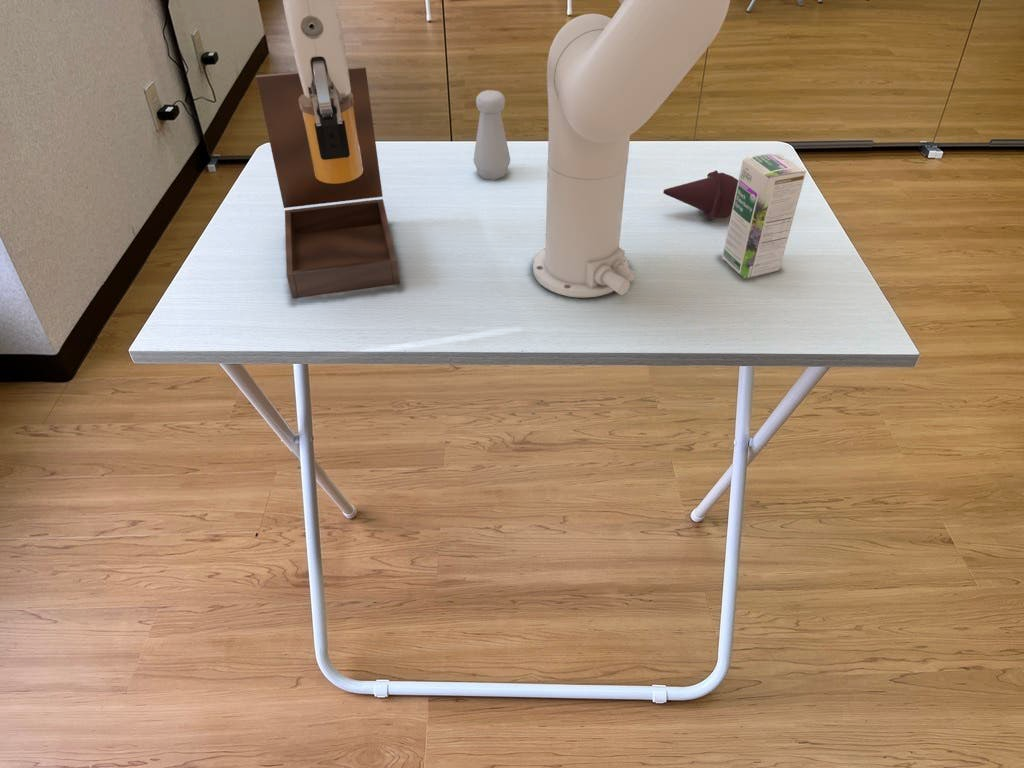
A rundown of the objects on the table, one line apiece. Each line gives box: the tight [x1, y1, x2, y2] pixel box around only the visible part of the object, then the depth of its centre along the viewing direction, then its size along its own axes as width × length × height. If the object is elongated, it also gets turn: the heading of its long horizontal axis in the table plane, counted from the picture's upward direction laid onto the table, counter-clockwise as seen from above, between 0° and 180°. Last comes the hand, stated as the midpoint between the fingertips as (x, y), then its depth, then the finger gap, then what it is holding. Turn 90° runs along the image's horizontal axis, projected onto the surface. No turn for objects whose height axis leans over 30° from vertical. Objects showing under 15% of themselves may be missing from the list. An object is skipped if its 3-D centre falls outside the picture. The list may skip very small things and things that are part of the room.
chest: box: [284, 198, 401, 299], centre depth 104 cm, size 17×14×4 cm
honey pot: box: [299, 87, 363, 184], centre depth 88 cm, size 6×6×10 cm
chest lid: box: [255, 65, 383, 209], centre depth 103 cm, size 17×14×1 cm
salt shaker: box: [473, 89, 511, 181], centre depth 120 cm, size 6×6×13 cm
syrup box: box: [721, 152, 807, 280], centre depth 99 cm, size 6×6×14 cm
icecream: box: [662, 169, 739, 221], centre depth 112 cm, size 7×7×15 cm
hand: (334, 143), depth 89 cm, fingers closed on honey pot, 5 cm apart
